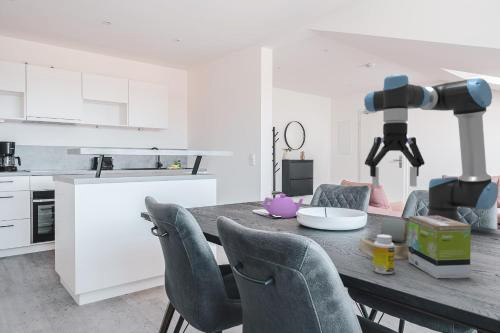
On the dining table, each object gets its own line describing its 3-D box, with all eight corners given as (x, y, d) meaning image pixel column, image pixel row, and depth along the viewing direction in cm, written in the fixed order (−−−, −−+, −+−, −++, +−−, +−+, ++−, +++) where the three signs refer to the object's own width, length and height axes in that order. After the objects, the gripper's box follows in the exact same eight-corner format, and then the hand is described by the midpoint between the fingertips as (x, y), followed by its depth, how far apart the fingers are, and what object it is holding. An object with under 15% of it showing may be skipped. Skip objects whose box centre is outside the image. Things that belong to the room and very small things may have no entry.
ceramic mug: (407, 244, 116) (407, 220, 116) (380, 242, 120) (380, 218, 120) (408, 238, 126) (408, 216, 126) (383, 236, 129) (383, 214, 129)
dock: (407, 248, 129) (407, 236, 129) (429, 257, 117) (429, 244, 117) (359, 250, 126) (360, 237, 126) (377, 259, 115) (377, 246, 114)
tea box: (406, 263, 112) (407, 215, 111) (438, 262, 112) (438, 214, 112) (435, 279, 97) (436, 224, 96) (471, 278, 97) (472, 223, 97)
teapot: (261, 218, 192) (261, 195, 191) (263, 213, 207) (263, 192, 207) (303, 219, 189) (303, 196, 189) (302, 214, 204) (303, 192, 204)
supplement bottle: (389, 276, 99) (390, 238, 99) (370, 271, 103) (370, 236, 102) (396, 271, 103) (397, 235, 103) (377, 267, 107) (378, 232, 107)
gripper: (422, 124, 126) (421, 185, 127) (354, 123, 122) (354, 186, 123) (436, 122, 119) (435, 187, 119) (365, 121, 115) (364, 187, 116)
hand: (394, 186), depth 121 cm, fingers open, 13 cm apart
